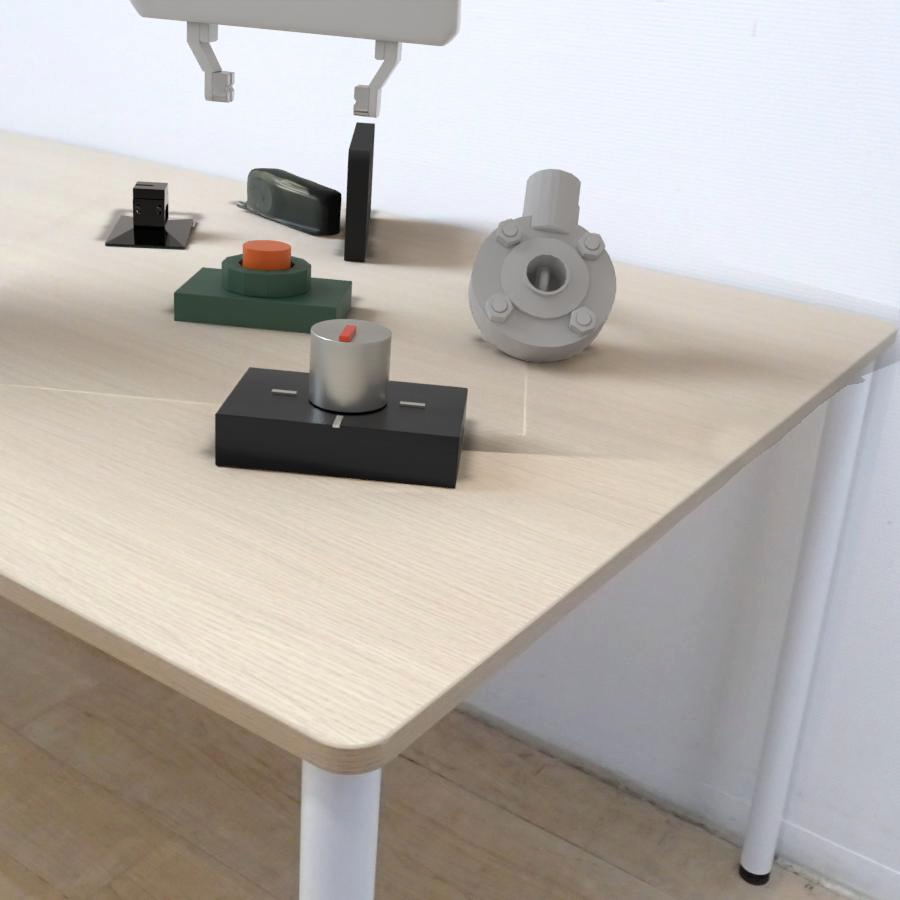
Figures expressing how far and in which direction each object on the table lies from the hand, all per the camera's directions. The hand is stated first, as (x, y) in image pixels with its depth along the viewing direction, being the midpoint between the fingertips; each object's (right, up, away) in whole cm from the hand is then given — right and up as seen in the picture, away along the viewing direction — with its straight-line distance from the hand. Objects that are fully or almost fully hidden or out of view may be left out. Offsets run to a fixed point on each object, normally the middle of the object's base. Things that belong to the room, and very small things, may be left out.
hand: (292, 108), depth 74 cm
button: (-4, -8, +14) cm, 17 cm away
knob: (+4, -19, -9) cm, 21 cm away
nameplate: (+1, -1, +43) cm, 43 cm away
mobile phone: (-7, +2, +47) cm, 47 cm away
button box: (-4, -11, +16) cm, 20 cm away
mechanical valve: (+16, -12, +18) cm, 27 cm away
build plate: (-19, -1, +38) cm, 42 cm away
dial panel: (+4, -22, -8) cm, 23 cm away
